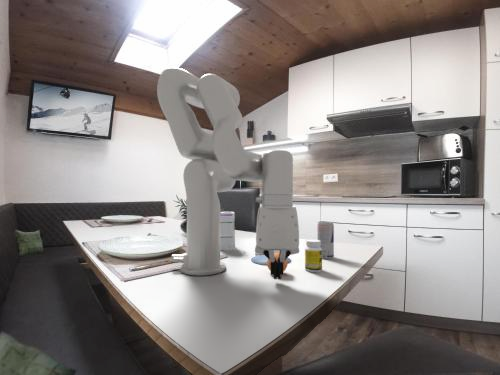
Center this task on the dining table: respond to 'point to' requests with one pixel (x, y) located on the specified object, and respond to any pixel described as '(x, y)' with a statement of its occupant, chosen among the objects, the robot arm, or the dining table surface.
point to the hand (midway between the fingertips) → (276, 277)
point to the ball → (276, 260)
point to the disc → (263, 260)
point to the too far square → (263, 254)
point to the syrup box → (227, 230)
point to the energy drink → (326, 239)
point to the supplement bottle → (313, 256)
